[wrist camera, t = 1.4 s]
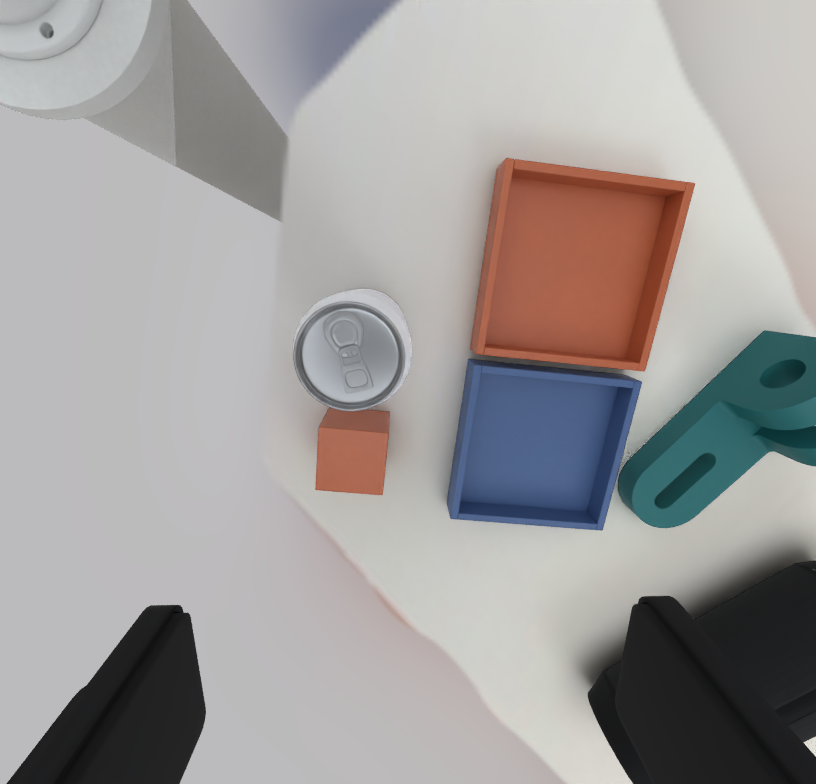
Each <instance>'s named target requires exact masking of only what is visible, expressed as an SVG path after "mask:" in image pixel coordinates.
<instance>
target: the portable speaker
mask: <svg viewBox="0 0 816 784" xmlns="http://www.w3.org/2000/svg"><path fill="white" fill-rule="evenodd" d="M695 621H696V623H697V624H698V625H699V626H700V627H701V628H702V629H703V630H704V632H705V633H706V634H707V635H708V636H709V637H710V638H711V639H712V641H713V642H714V643H715V644H716V645H717V646H718V647H719V648H720V650H721V651H722V652H723V653H724V654H725V655H726V656H727V657H728V659H729V660H730V661H731V662H732V663H733V664H734V665H735V666H736V668H737V669H738V670H739V671H740V672H741V673H742V674H743V676H744V677H745V678H746V679H747V680H748V681H749V682H750V683H751V685H752V686H753V687H754V688H755V689H756V690H757V691H758V692H759V694H760V695H761V696H762V697H763V698H764V699H765V700H766V701H767V703H768V704H769V705H770V706H771V707H772V708H773V709H774V710H775V712H776V713H777V714H778V715H779V716H780V717H781V718H782V719H783V721H784V722H785V723H786V724H787V725H788V726H789V727H790V728H791V730H792V731H793V732H794V733H795V734H796V735H797V736H798V737H799V739H800V740H801V741H802V742H805V741H807V740H809V739H811V738H813V737H815V736H816V561H809V562H802V563H795V564H793V565H791V566H789V567H787V568H786V569H784V570H782V571H780V572H779V573H777V574H775V575H773V576H772V577H770V578H768V579H766V580H765V581H763V582H761V583H759V584H758V585H756V586H754V587H752V588H750V589H749V590H747V591H745V592H743V593H742V594H740V595H738V596H736V597H734V598H733V599H731V600H729V601H727V602H726V603H724V604H722V605H720V606H719V607H717V608H715V609H713V610H711V611H710V612H708V613H706V614H704V615H703V616H701V617H699V618H697V619H695ZM621 663H622V661H621V662H619V663H617V664H615V665H614V666H612V667H610V668H608V669H606V670H604V671H603V672H602V673H601V675H600V676H599V678H598V679H597V681H596V682H595V683H594V685H593V686H592V688H591V689H590V691H589V692H588V699H589V702H590V705H591V708H592V710H593V712H594V715H595V717H596V719H597V721H598V723H599V725H600V727H601V729H602V731H603V733H604V735H605V737H606V739H607V741H608V743H609V745H610V746H611V748H612V750H613V752H614V753H615V755H616V757H617V759H618V760H619V762H620V764H621V765H622V767H623V769H624V770H625V772H626V773H627V775H628V777H629V778H630V780H631V781H632V783H633V784H653V783H652V781H651V779H650V777H649V775H648V773H647V772H646V770H645V768H644V766H643V764H642V762H641V760H640V758H639V756H638V754H637V752H636V750H635V748H634V746H633V744H632V742H631V741H630V739H629V737H628V735H627V733H626V731H625V729H624V727H623V725H622V723H621V721H620V719H619V717H618V714H617V711H616V706H615V695H616V689H617V684H618V679H619V674H620V669H621Z"/></svg>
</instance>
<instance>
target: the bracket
mask: <svg viewBox="0 0 816 784" xmlns="http://www.w3.org/2000/svg"><path fill="white" fill-rule="evenodd" d="M815 425H816V337H809V336H801V335H794V334H786V333H779V332H771V331H764V332H762V333H761V334H760V335H759V336H758V337H757V338H756V339H755V340H754V341H753V342H752V343H751V344H750V345H749V346H748V347H747V348H746V349H745V350H744V351H743V352H741V353H740V354H739V355H738V356H737V357H736V358H735V359H734V360H733V361H732V362H731V363H730V364H729V365H728V366H727V367H726V368H725V369H724V370H723V371H722V372H721V373H719V374H718V375H717V376H716V377H715V378H714V379H713V380H712V381H711V382H710V383H709V384H708V385H707V386H706V387H705V388H704V389H703V390H702V391H701V392H700V393H699V394H697V395H696V396H695V397H694V398H693V399H692V400H691V401H690V402H689V403H688V404H687V405H686V406H685V407H684V408H683V409H682V410H681V411H680V412H679V413H678V414H677V415H675V416H674V417H673V418H672V419H671V420H670V421H669V422H668V423H667V424H666V425H665V426H664V427H663V428H662V429H661V430H660V431H659V432H658V433H657V434H656V435H655V436H653V437H652V438H651V439H650V440H649V441H648V442H647V443H646V444H645V445H644V446H643V447H642V448H641V449H640V450H639V451H638V452H637V453H636V454H635V455H634V456H633V457H631V458H630V459H629V461H628V462H627V463H626V464H625V466H624V467H623V469H622V471H621V473H620V476H619V480H618V491H619V495H620V497H621V499H622V501H623V502H624V503H625V505H626V506H627V507H629V508H630V509H631V510H632V511H633V512H634V513H635V514H636V515H637V516H638V517H639V518H640V519H641V520H642V521H643V522H645V523H646V524H648V525H651V526H654V527H659V528H670V527H675V526H679V525H682V524H684V523H686V522H688V521H690V520H691V519H693V518H694V517H695V516H697V515H698V514H699V513H700V512H701V511H702V510H703V509H704V508H706V507H707V506H708V505H709V504H710V503H711V502H712V501H714V500H715V499H716V498H717V497H718V496H719V495H720V494H721V493H723V492H724V491H725V490H726V489H727V488H728V487H729V486H730V485H732V484H733V483H734V482H735V481H736V480H737V479H738V478H740V477H741V476H742V475H743V474H744V473H745V472H746V471H747V470H749V469H750V468H751V467H752V466H753V465H754V464H755V463H756V462H758V461H759V460H760V459H761V458H762V457H763V456H764V455H766V454H767V453H768V452H771V451H775V452H777V453H780V454H782V455H784V456H786V457H788V458H791V459H793V460H795V461H797V462H800V463H803V464H806V465H811V466H816V426H815Z"/></svg>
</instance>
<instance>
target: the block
mask: <svg viewBox="0 0 816 784" xmlns="http://www.w3.org/2000/svg"><path fill="white" fill-rule="evenodd" d="M389 417H390V412H386V411H375V410H361V411H341V410H336V409H333V408H330V407H329V409H328V411H327V413H326V415H325V416H324V418H323V420H322V422H321V424H320V426H319V432H318V451H317V469H316V488H315V489H316V490H323V491H335V492H348V493H360V494H373V495H383V487H384V477H385V467H386V457H387V448H388V438H389Z"/></svg>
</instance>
